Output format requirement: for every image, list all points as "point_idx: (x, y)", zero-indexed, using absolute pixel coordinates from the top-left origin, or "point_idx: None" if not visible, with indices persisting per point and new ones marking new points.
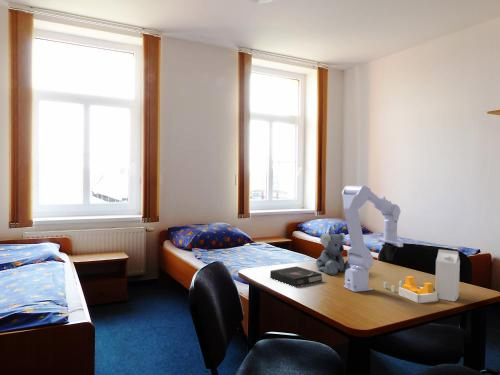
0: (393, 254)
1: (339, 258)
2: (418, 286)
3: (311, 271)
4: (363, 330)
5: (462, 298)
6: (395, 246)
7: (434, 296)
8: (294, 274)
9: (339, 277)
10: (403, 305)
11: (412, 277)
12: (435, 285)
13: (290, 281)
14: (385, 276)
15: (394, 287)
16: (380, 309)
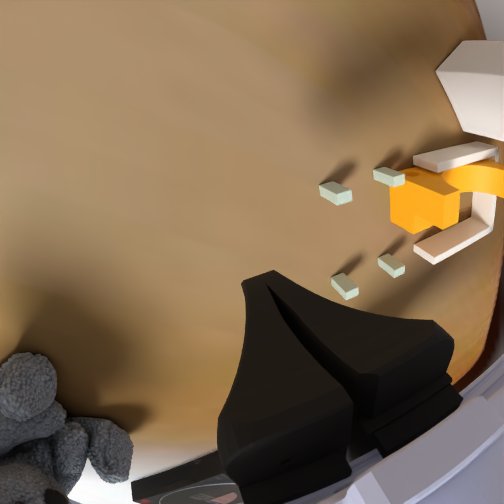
0: (315, 300)
1: (18, 442)
2: (446, 169)
3: (195, 486)
4: (480, 356)
5: (465, 34)
6: (437, 371)
7: None
8: (235, 498)
9: (151, 414)
10: (467, 271)
11: (459, 200)
12: (501, 140)
13: None
14: (77, 191)
15: (400, 265)
16: (457, 328)
